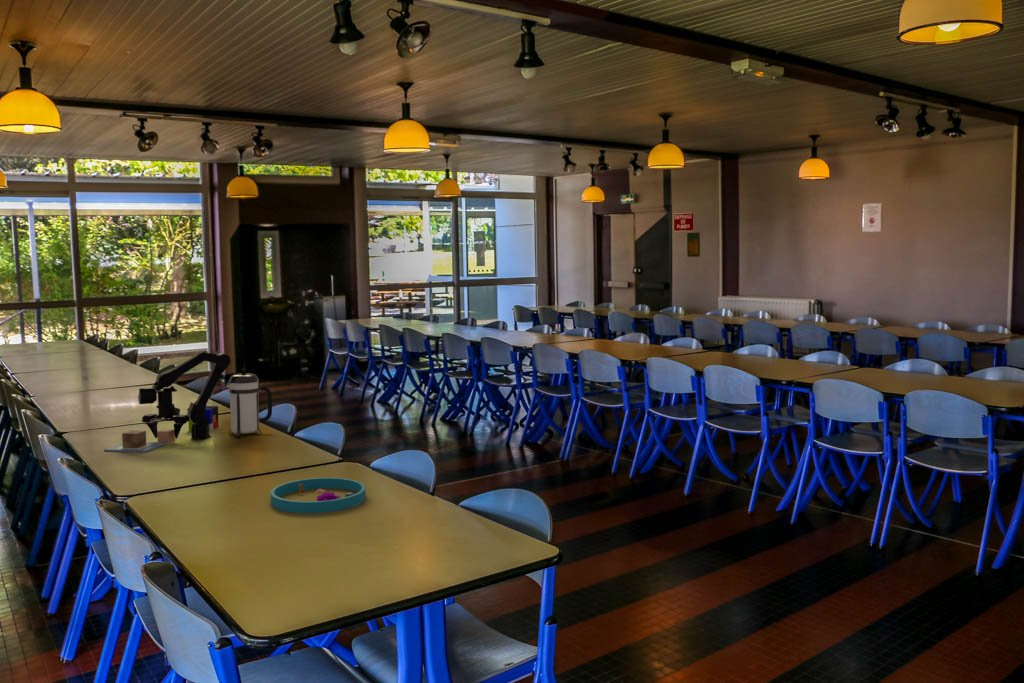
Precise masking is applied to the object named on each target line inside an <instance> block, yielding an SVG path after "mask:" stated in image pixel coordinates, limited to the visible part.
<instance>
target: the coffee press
mask: <svg viewBox="0 0 1024 683" xmlns="http://www.w3.org/2000/svg"><path fill="white" fill-rule="evenodd" d="M240 372H241V373H236V374H232V375H231V376H230V377H229V380H228V382H227V385H226V388H228V389H229V392H228V393H229V404H230V405H229V406H230V409H229V410H230V430H229V431H228V434H229V435H232V434H236V435H235V436H236V438H241V436H242V435H243V434H252V433H255V434H256V435H257V436H259V435H258V434H260V435H262V434H263V432H262V431H261V429H260V423H262V422H267V421H269V419H270V418H271V417H272V414H273V396H272V392H271V390H270V389H269V387H267V386H259V382H260V379H259V378H258V375H256V374H254V373H249V372H247V369H246V368H245V367H243V368H241V370H240ZM246 372H247V373H246ZM259 391H264V392H265V393H266V395H267V413H266V415H265V416H264V417H259V416H260V415H259V409H260V407H259V406H260V405H259Z"/></svg>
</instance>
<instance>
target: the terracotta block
mask: <svg viewBox="0 0 1024 683" xmlns="http://www.w3.org/2000/svg"><path fill="white" fill-rule="evenodd" d="M157 435H158V437H157V442H165V443H167V444H171V443H173V442H175V441H176V439H175V433H174V429H168V428H167V429H164V428H163V429H161V430H157Z"/></svg>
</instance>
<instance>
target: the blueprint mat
mask: <svg viewBox="0 0 1024 683" xmlns="http://www.w3.org/2000/svg"><path fill="white" fill-rule="evenodd" d="M167 444H168V443H165V442H158V441H146V445H145V446H142V447H139V448H123V444H122V442H121V443H118V444H115V445H112V446H110V447H107V448H104V449H103V451H104V452H111V453H117V452H118V453H139V454H142V453H144V454H146V453H149V452H152V451H154V450H156V449H158V448H161V447H164V446H166V445H167Z"/></svg>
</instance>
